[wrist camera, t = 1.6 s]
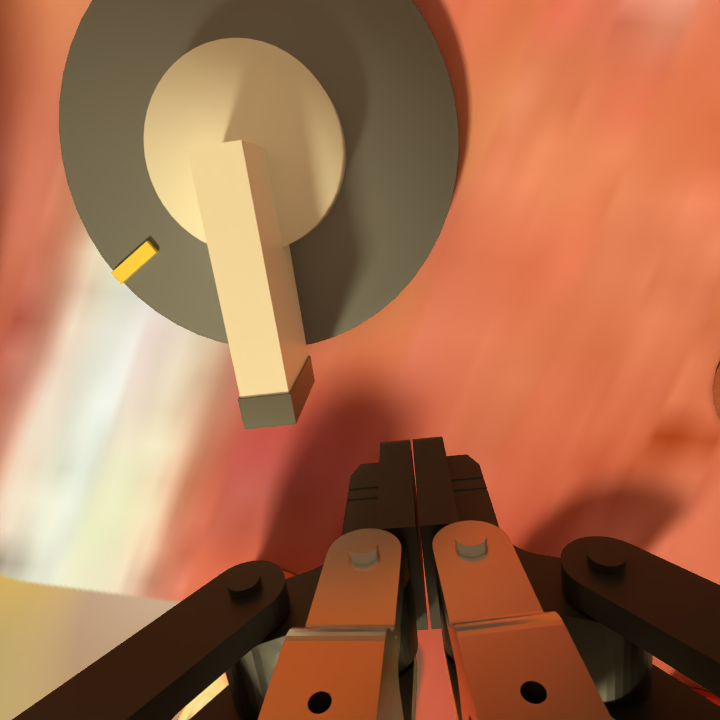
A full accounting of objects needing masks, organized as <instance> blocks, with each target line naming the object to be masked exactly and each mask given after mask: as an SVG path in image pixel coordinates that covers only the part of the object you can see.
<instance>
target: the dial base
mask: <svg viewBox="0 0 720 720" xmlns="http://www.w3.org/2000/svg"><path fill="white" fill-rule="evenodd" d="M226 38H249V39H253V40H258V41H263V42H265V43H268V44H271V45H274V46H276V47H278V48H280V49H282V50H284V51H285V52H287V53H289V54H290V55H292V56H293V57H294V58H296V59H297V60H298V61H300V62H301V63H302V64H303V65H304V66H305V67H306V68H307V69H308V70H309V71H310V72H311V73H312V74H313V75H314V77H315V78H316V79H317V80H318V82H319V83H320V84H321V86H322V87H323V89H324V90H325V92H326V93H327V95H328V96H329V98H330V100H331V101H332V103H333V105H334V107H335V109H336V111H337V113H338V115H339V118H340V122H341V125H342V128H343V132H344V137H345V145H346V168H345V174H344V179H343V183H342V186H341V190H340V193H339V195H338V197H337V199H336V201H335V204H334V205H333V207H332V208H331V210H330V212H329V213H328V215H327V216H326V217H325V218H324V219H323V221H322V222H321V223H320V224H319V225H318V226H317V227H316V228H315V229H314V230H313V231H311V232H310V233H308V234H307V235H305V236H304V237H303V238H301V239H299V240H297V241H295V242H293V243H291V244H289V247H290V253H291V259H292V265H293V270H294V276H295V282H296V288H297V294H298V300H299V305H300V311H301V317H302V323H303V329H304V334H305V340H306V345H307V344H313V343H316V342H319V341H322V340H326V339H329V338H332V337H335V336H337V335H339V334H342V333H344V332H346V331H348V330H350V329H352V328H354V327H356V326H358V325H360V324H361V323H363V322H364V321H366V320H367V319H369V318H371V317H372V316H374V315H375V314H377V313H378V312H379V311H380V310H382V309H383V308H384V307H385V306H386V305H387V304H389V303H390V302H391V301H392V300H393V299H395V298H396V297H397V296H398V295H399V293H400V292H401V291H402V290H403V289H404V288H405V287H406V286H407V285H408V284H409V282H410V281H411V280H412V279H413V278H414V276H415V275H416V273H417V272H418V271H419V269H420V268H421V266H422V265H423V263H424V262H425V261H426V259H427V258H428V256H429V254H430V252H431V250H432V248H433V246H434V244H435V242H436V240H437V239H438V237H439V235H440V232H441V229H442V227H443V224H444V221H445V219H446V216H447V213H448V211H449V207H450V203H451V199H452V195H453V190H454V186H455V182H456V173H457V164H458V155H459V147H458V119H457V112H456V105H455V98H454V93H453V89H452V85H451V81H450V78H449V74H448V70H447V66H446V64H445V61H444V59H443V56H442V54H441V51H440V49H439V46H438V44H437V41H436V39H435V37H434V35H433V33H432V31H431V30H430V28H429V26H428V24H427V23H426V21H425V19H424V17H423V15H422V14H421V12H420V10H419V9H418V8H417V6H416V5H415V4H414V2H413V1H412V0H92V2H91V4H90V5H89V7H88V9H87V11H86V12H85V14H84V16H83V17H82V19H81V22H80V24H79V26H78V29H77V31H76V34H75V36H74V39H73V41H72V43H71V46H70V50H69V54H68V57H67V61H66V65H65V69H64V72H63V79H62V86H61V94H60V101H59V133H60V143H61V152H62V159H63V164H64V168H65V173H66V177H67V182H68V186H69V189H70V191H71V194H72V197H73V200H74V203H75V206H76V209H77V211H78V213H79V216H80V218H81V220H82V222H83V224H84V226H85V228H86V230H87V232H88V234H89V236H90V238H91V239H92V241H93V243H94V244H95V246H96V247H97V249H98V251H99V252H100V254H101V255H102V257H103V258H104V260H105V261H106V262H107V263H108V265H109V266H110V267H111V268H112V270H113V272H112V274H113V275H114V277H115V278H116V279H117V280H118V281H119V282H120V283H125V284H126V285H127V286H128V287H129V288H130V289H131V291H132V292H133V293H134V294H135V295H136V296H138V297H139V298H140V299H141V300H143V301H144V302H145V303H146V304H148V305H149V306H150V307H151V308H153V309H154V310H155V311H156V312H158V313H160V314H161V315H163V316H164V317H166V318H168V319H169V320H171V321H172V322H174V323H175V324H177V325H179V326H181V327H183V328H186V329H188V330H190V331H192V332H194V333H196V334H198V335H201V336H204V337H207V338H210V339H213V340H216V341H219V342H222V343H227V344H229V343H228V338H227V334H226V329H225V324H224V320H223V315H222V311H221V306H220V301H219V297H218V292H217V288H216V283H215V278H214V274H213V269H212V265H211V260H210V255H209V251H208V246H207V243H205V242H203V241H201V240H199V239H198V238H196V237H195V236H193V235H192V234H190V233H189V232H188V231H187V230H185V229H184V228H183V227H182V226H181V225H180V224H179V223H178V222H177V221H176V220H175V219H174V218H173V217H172V216H171V215H170V213H169V212H168V211H167V209H166V208H165V206H164V205H163V203H162V202H161V200H160V198H159V197H158V195H157V193H156V191H155V189H154V186H153V184H152V182H151V179H150V176H149V172H148V169H147V165H146V159H145V154H144V124H145V119H146V113H147V109H148V106H149V103H150V100H151V97H152V95H153V93H154V91H155V89H156V87H157V85H158V83H159V82H160V80H161V79H162V77H163V75H164V74H165V73H166V72H167V71H168V69H169V68H170V67H171V66H172V65H173V64H174V63H175V62H176V61H177V60H178V59H180V58H181V57H182V56H183V55H184V54H186V53H188V52H189V51H191V50H192V49H194V48H196V47H198V46H200V45H203V44H205V43H207V42H211V41H215V40H219V39H226Z"/></svg>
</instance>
